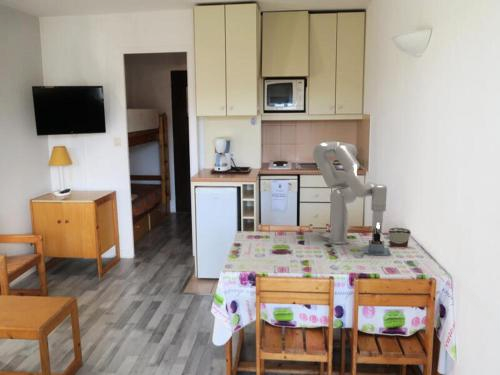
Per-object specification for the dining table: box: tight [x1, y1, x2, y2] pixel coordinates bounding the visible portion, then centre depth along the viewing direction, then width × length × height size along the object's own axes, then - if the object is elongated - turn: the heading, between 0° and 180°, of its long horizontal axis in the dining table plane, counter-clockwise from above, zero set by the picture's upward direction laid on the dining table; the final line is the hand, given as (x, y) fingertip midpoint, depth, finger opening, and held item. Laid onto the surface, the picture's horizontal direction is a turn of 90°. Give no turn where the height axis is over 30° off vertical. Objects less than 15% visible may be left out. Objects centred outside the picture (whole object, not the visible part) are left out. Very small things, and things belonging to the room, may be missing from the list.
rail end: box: [371, 230, 380, 244], centre depth 237 cm, size 4×4×10 cm
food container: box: [387, 227, 412, 248], centre depth 248 cm, size 12×6×10 cm, turn 84°
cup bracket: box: [362, 239, 391, 257], centre depth 238 cm, size 14×12×5 cm
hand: (376, 238), depth 237 cm, fingers open, 8 cm apart
